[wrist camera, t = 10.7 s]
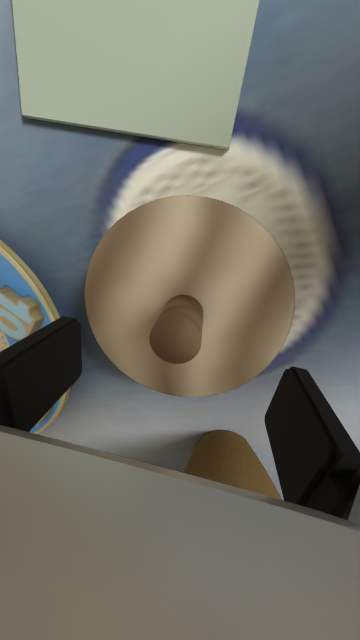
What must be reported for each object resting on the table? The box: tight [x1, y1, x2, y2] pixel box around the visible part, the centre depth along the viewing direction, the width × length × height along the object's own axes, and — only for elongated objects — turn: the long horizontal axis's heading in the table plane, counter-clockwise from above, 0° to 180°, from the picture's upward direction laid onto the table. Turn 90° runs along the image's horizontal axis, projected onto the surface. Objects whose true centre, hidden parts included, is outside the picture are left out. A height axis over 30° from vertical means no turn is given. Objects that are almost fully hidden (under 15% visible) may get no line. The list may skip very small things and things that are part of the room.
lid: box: [85, 195, 295, 397], centre depth 16 cm, size 17×17×6 cm
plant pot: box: [184, 430, 282, 500], centre depth 24 cm, size 15×15×16 cm
